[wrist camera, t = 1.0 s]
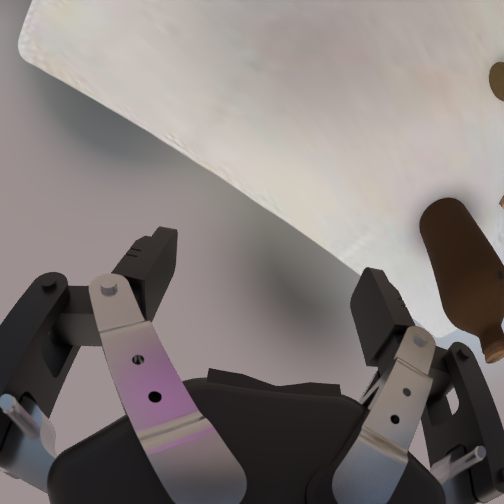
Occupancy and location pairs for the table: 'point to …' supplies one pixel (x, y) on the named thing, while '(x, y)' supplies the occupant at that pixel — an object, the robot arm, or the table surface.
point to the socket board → (502, 202)
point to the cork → (497, 80)
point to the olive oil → (466, 273)
